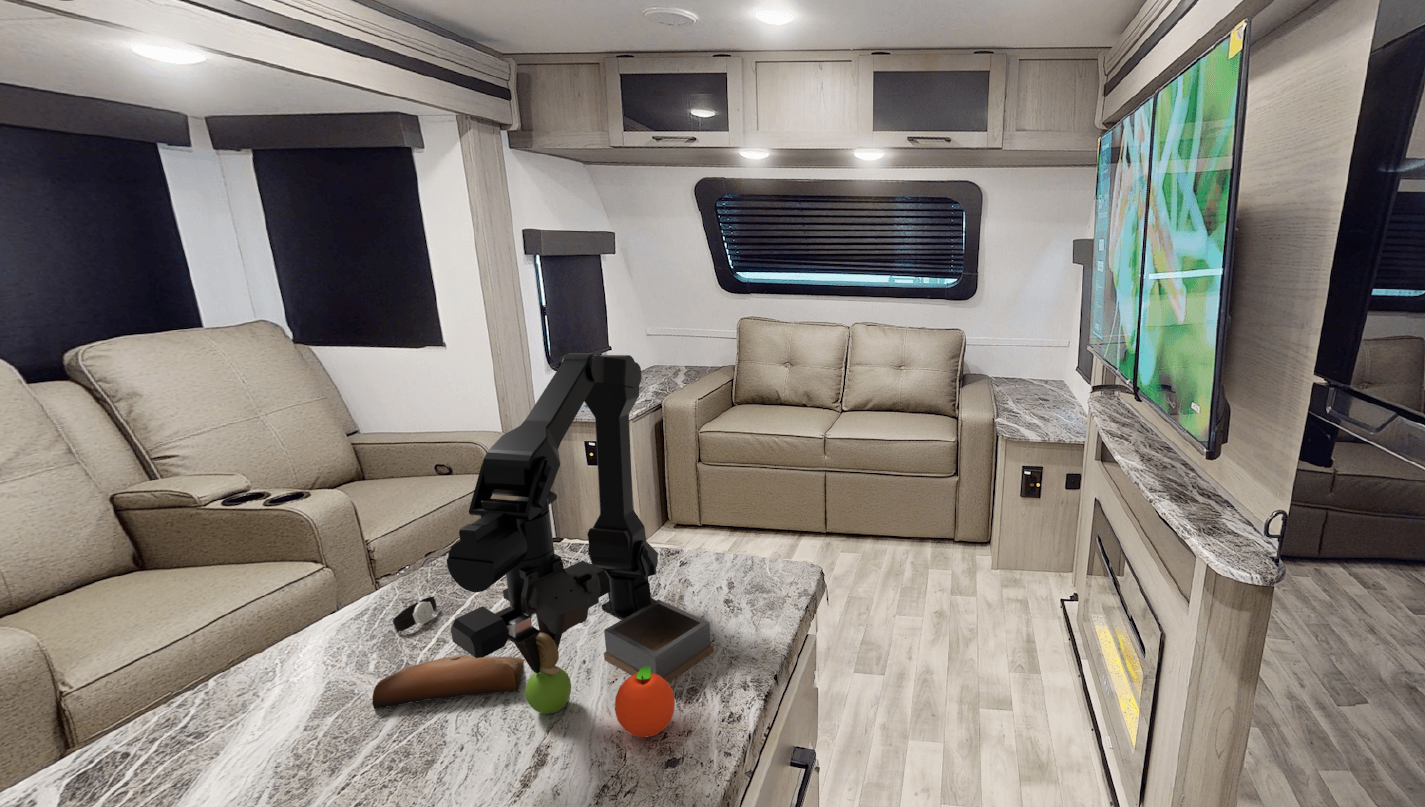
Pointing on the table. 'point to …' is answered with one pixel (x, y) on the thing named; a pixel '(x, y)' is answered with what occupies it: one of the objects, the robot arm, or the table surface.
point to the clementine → (644, 703)
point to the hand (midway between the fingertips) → (543, 667)
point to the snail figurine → (548, 679)
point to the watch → (415, 614)
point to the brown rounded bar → (449, 679)
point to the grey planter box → (658, 641)
